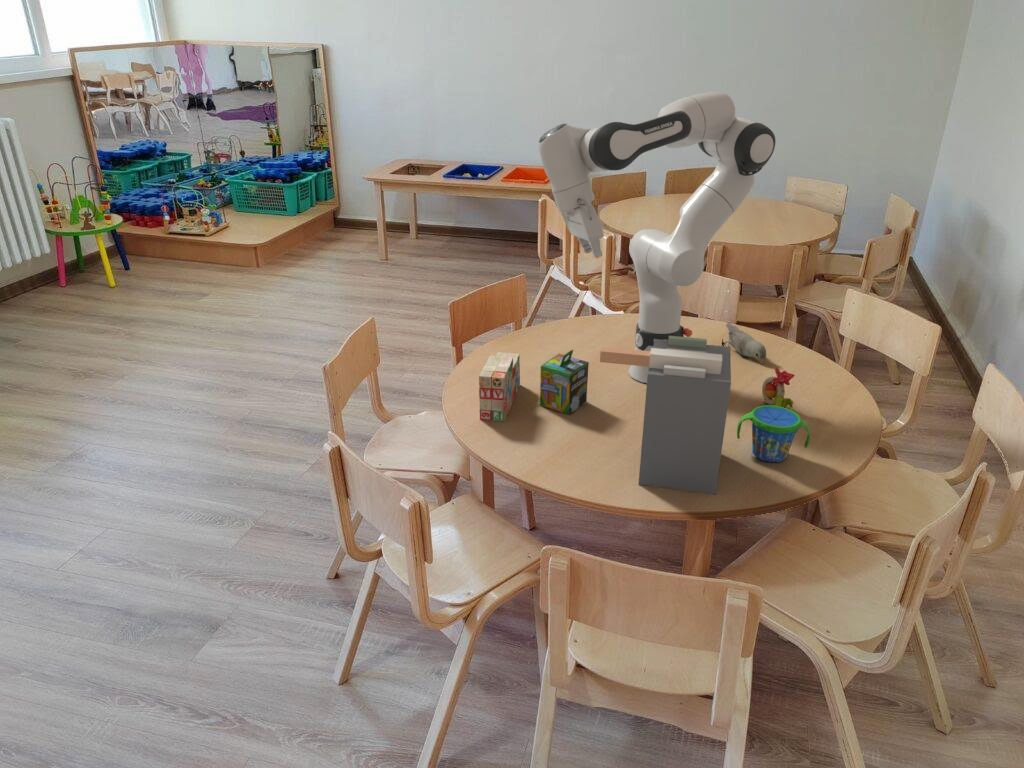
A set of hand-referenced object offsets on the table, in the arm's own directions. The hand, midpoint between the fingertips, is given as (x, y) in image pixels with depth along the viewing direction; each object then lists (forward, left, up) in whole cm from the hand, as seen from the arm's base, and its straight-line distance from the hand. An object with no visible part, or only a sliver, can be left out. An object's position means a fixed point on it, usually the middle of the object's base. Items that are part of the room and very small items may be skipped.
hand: (593, 254), depth 182 cm
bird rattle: (-43, +20, -39) cm, 61 cm away
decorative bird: (-56, -10, -39) cm, 69 cm away
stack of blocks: (+20, -8, -39) cm, 45 cm away
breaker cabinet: (-5, +36, -39) cm, 53 cm away
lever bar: (+2, +36, -13) cm, 38 cm away
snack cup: (-27, +39, -39) cm, 61 cm away
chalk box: (+6, -1, -39) cm, 40 cm away
